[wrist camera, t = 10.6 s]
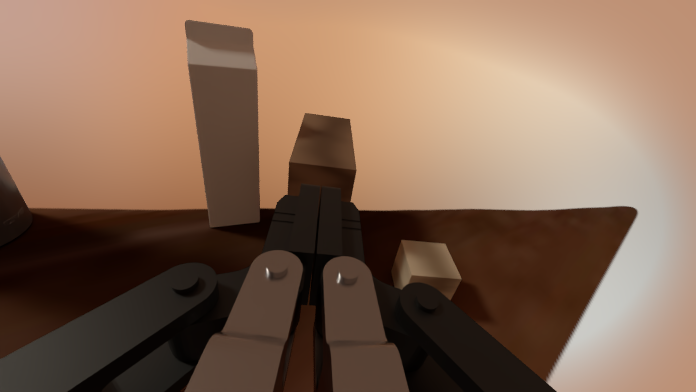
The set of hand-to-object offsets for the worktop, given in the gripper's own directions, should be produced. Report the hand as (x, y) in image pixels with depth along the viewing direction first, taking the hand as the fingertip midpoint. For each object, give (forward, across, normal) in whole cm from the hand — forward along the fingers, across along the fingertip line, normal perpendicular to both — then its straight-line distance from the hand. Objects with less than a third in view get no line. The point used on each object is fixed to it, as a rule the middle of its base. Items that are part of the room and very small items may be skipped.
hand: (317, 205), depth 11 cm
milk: (+22, +11, +19) cm, 31 cm away
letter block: (+11, -12, +18) cm, 25 cm away
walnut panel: (+21, 0, +19) cm, 28 cm away
